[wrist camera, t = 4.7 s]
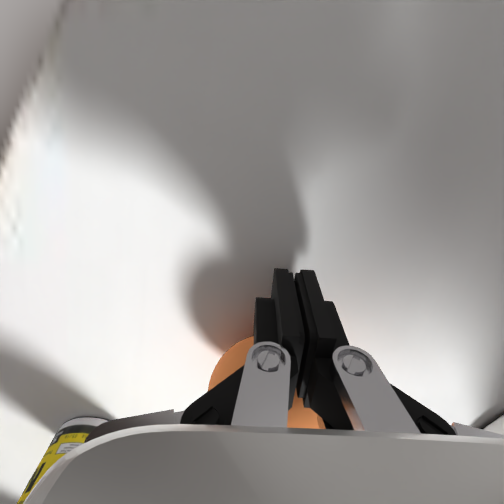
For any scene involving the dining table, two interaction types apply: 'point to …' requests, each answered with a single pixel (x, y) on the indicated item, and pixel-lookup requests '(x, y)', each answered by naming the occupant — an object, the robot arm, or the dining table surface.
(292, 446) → the robot arm
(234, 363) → the ball
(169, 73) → the dining table surface
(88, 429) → the supplement bottle
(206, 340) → the dining table surface
